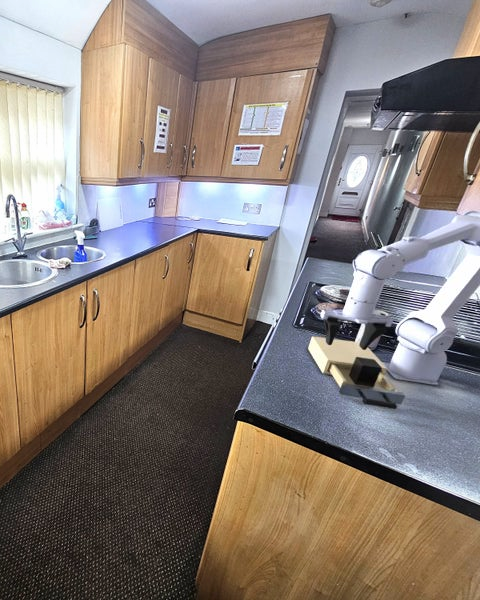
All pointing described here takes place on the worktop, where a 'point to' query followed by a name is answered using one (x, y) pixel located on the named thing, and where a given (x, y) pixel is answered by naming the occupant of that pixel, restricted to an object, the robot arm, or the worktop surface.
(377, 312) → the energy drink
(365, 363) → the black block
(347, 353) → the pale yellow drawer box
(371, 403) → the drawer
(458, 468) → the worktop surface
